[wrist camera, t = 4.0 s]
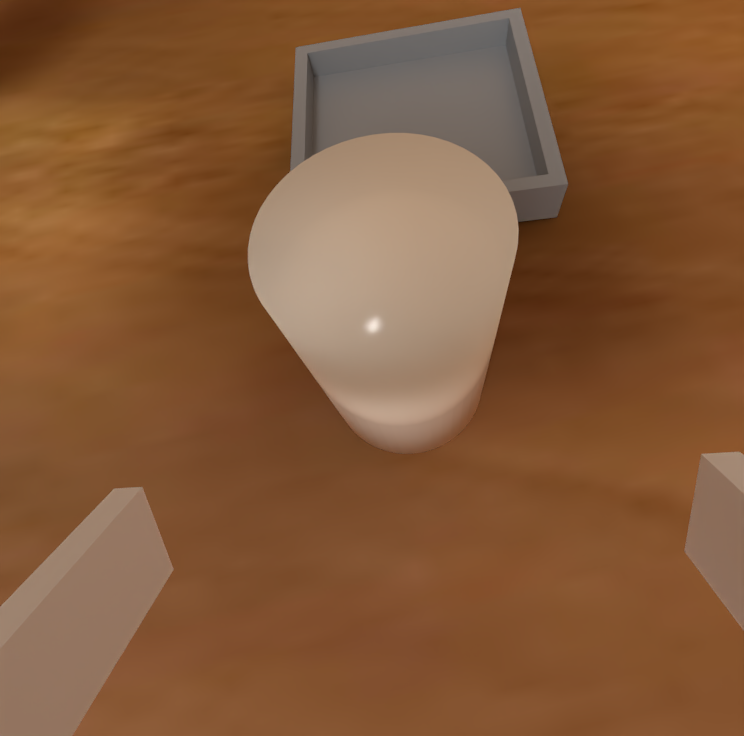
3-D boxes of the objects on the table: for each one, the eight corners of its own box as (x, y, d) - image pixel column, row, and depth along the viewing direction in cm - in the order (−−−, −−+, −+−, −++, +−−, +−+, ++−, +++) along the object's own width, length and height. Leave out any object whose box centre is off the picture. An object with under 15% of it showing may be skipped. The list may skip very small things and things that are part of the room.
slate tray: (300, 248, 33) (288, 220, 30) (305, 82, 40) (295, 47, 37) (556, 217, 31) (568, 184, 28) (514, 47, 38) (520, 7, 35)
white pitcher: (336, 458, 26) (237, 368, 14) (334, 292, 31) (260, 106, 18) (491, 448, 25) (542, 340, 13) (467, 277, 30) (486, 70, 17)
